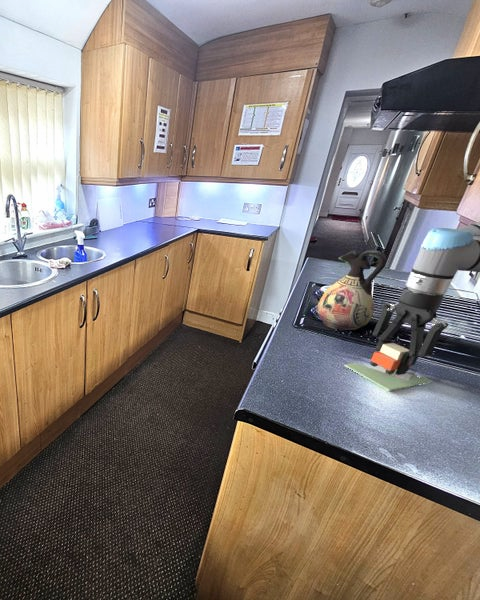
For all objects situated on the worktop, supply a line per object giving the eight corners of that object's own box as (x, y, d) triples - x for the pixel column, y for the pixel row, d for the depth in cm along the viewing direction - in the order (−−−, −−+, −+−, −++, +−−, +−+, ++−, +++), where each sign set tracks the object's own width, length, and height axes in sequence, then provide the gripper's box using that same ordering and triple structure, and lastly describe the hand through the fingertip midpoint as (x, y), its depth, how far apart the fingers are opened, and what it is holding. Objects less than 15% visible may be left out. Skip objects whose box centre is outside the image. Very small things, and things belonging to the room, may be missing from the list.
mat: (384, 359, 100) (385, 357, 99) (432, 383, 89) (433, 381, 89) (343, 366, 96) (344, 364, 96) (388, 391, 85) (389, 389, 85)
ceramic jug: (304, 325, 121) (328, 246, 109) (323, 315, 128) (348, 240, 116) (359, 345, 108) (394, 258, 96) (377, 332, 115) (411, 250, 103)
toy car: (387, 375, 88) (397, 353, 86) (368, 365, 93) (377, 344, 90) (409, 371, 90) (419, 350, 88) (389, 362, 95) (398, 341, 92)
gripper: (375, 280, 90) (347, 352, 99) (459, 305, 74) (416, 389, 83) (395, 278, 92) (365, 350, 101) (482, 303, 76) (437, 385, 84)
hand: (388, 367), depth 92 cm, fingers closed on toy car, 5 cm apart
